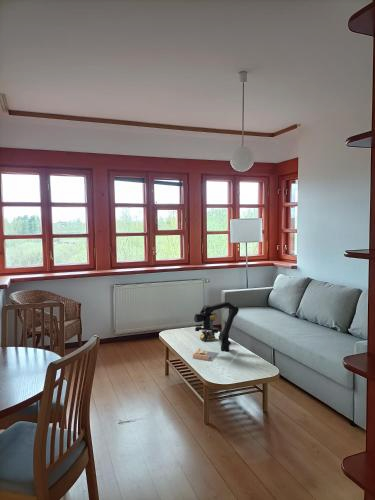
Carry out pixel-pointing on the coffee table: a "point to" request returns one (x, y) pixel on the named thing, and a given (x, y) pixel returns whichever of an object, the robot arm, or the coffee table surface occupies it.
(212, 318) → the cordless drill
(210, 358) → the slate mat
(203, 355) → the block
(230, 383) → the coffee table surface
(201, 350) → the t block
